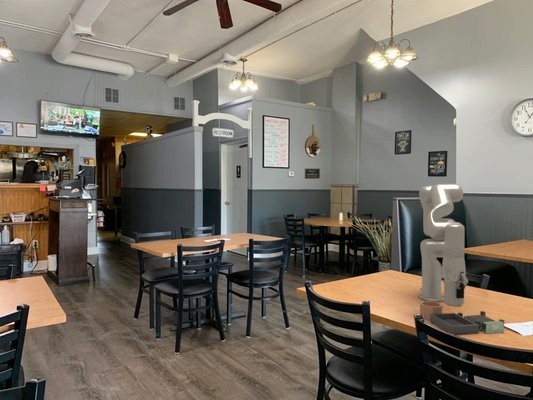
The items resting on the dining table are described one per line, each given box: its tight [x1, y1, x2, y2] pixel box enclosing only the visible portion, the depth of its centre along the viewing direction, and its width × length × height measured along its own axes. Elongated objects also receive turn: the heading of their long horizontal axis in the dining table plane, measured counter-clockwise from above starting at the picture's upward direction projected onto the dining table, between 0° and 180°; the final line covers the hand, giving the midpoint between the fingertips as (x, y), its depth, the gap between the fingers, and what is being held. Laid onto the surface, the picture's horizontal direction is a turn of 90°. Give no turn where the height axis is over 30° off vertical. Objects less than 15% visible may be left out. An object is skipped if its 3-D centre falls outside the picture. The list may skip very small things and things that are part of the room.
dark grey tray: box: [429, 312, 480, 336], centre depth 166 cm, size 16×12×4 cm
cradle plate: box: [463, 314, 496, 328], centre depth 168 cm, size 9×9×2 cm
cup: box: [419, 300, 444, 321], centre depth 179 cm, size 9×9×6 cm
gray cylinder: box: [443, 277, 465, 308], centre depth 165 cm, size 8×8×12 cm
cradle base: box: [457, 310, 505, 335], centre depth 166 cm, size 15×12×4 cm
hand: (453, 295), depth 165 cm, fingers closed on gray cylinder, 7 cm apart
